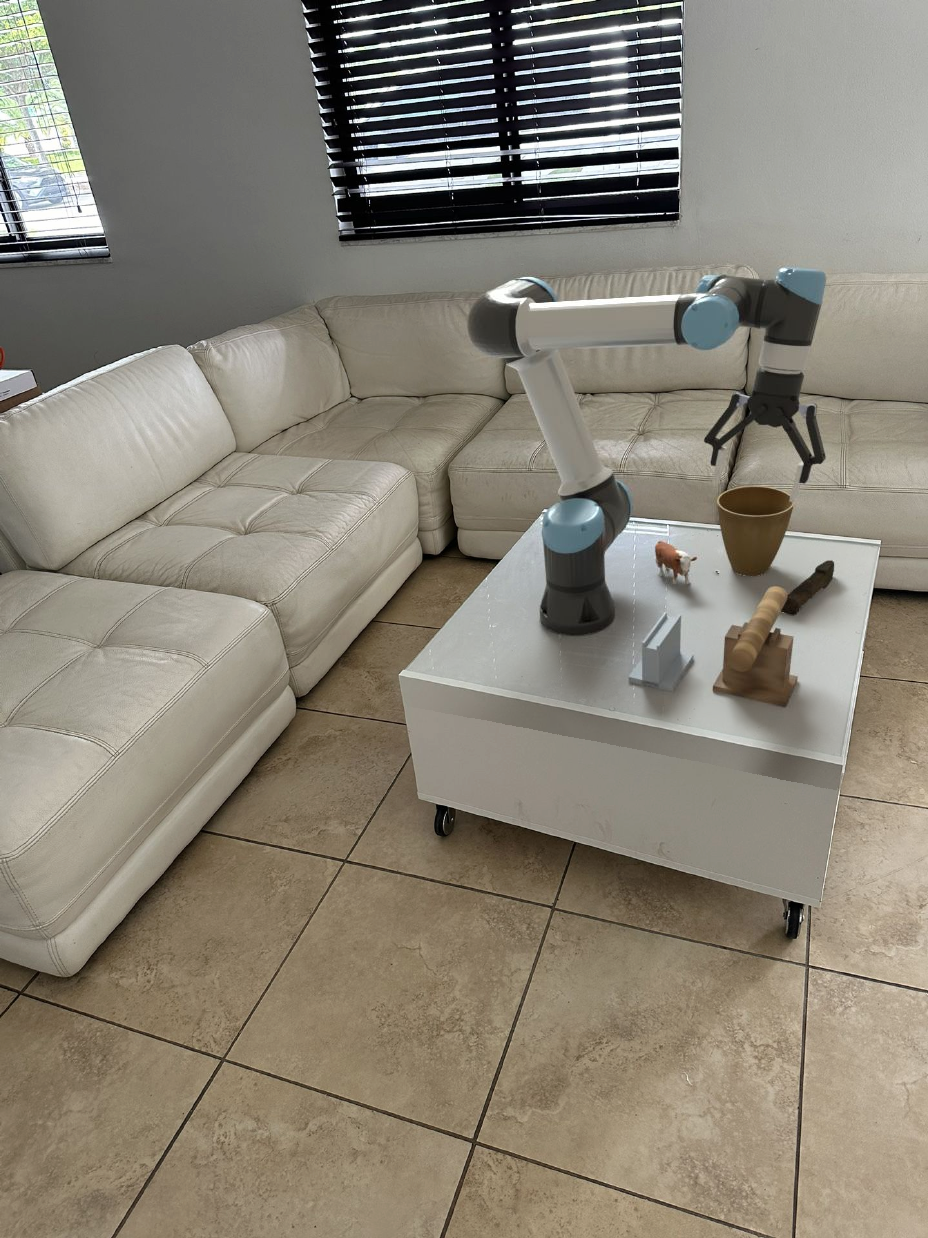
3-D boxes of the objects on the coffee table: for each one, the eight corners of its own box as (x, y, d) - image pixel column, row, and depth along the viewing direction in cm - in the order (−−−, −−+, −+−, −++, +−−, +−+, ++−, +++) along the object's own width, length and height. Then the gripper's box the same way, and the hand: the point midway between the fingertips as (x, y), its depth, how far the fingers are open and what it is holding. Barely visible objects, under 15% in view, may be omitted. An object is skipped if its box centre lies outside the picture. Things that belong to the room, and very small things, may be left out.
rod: (751, 673, 125) (752, 654, 123) (728, 669, 127) (728, 649, 125) (786, 606, 140) (788, 587, 138) (765, 603, 142) (766, 584, 140)
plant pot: (699, 565, 177) (702, 497, 169) (754, 547, 181) (759, 480, 173) (745, 593, 165) (750, 521, 157) (803, 572, 169) (811, 502, 161)
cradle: (628, 681, 144) (628, 639, 139) (651, 649, 151) (651, 609, 147) (672, 691, 140) (673, 649, 135) (693, 658, 147) (694, 617, 143)
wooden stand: (712, 690, 139) (715, 636, 133) (726, 665, 144) (729, 613, 139) (785, 707, 133) (791, 651, 127) (797, 681, 138) (803, 626, 133)
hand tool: (795, 619, 155) (798, 598, 153) (776, 612, 158) (778, 591, 155) (845, 581, 165) (848, 560, 163) (826, 575, 168) (829, 555, 165)
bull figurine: (681, 596, 167) (682, 561, 163) (650, 569, 178) (650, 536, 174) (700, 591, 167) (702, 556, 163) (668, 565, 179) (669, 531, 175)
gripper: (864, 377, 132) (830, 501, 142) (713, 356, 143) (691, 473, 153) (858, 383, 126) (823, 512, 136) (700, 361, 137) (679, 482, 147)
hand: (753, 492), depth 144 cm, fingers open, 13 cm apart
